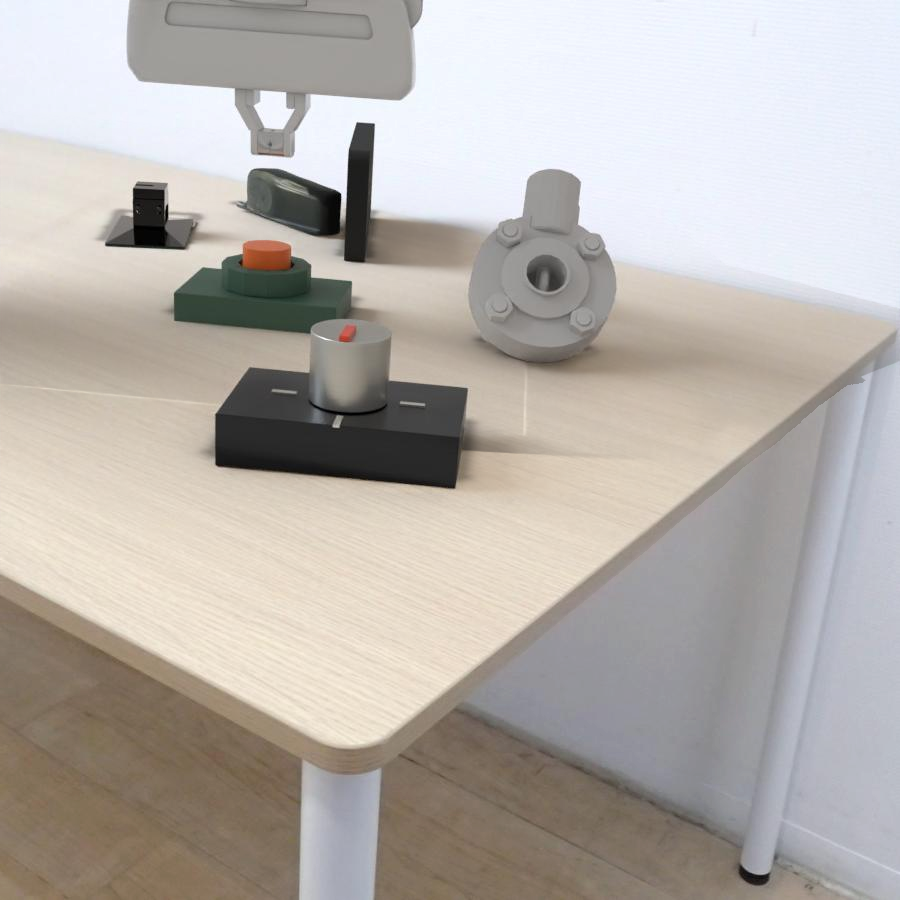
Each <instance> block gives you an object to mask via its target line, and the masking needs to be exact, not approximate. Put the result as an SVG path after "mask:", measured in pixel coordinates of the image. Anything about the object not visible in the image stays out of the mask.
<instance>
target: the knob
mask: <svg viewBox="0 0 900 900" xmlns="http://www.w3.org/2000/svg"><path fill="white" fill-rule="evenodd" d="M392 336H393V334H392V331H391V329H390V328H388V327H387V326H385V325H383V324H381V323H378V322H374V321H369V320H365V319H356V318H345V319H334V320H327V321H322V322H319V323H316V324H315V325H313V326H312V328H311V333H310V339H309V340H310V341H309V342H310V343H309V368H308V369H309V370H308V371H309V372H308V373H309V400H310V401H311V402H312V403H313V404H314V405H316V406H318V407H320V408H323V409H326V410H330V411H336V412H344V413H362V412H369V411H374V410H377V409H380V408H382V407H384V406H385V405H386V404H387V401H388V388H389V380H390V369H391V355H392V353H391V352H392V339H393V338H392Z"/></svg>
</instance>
